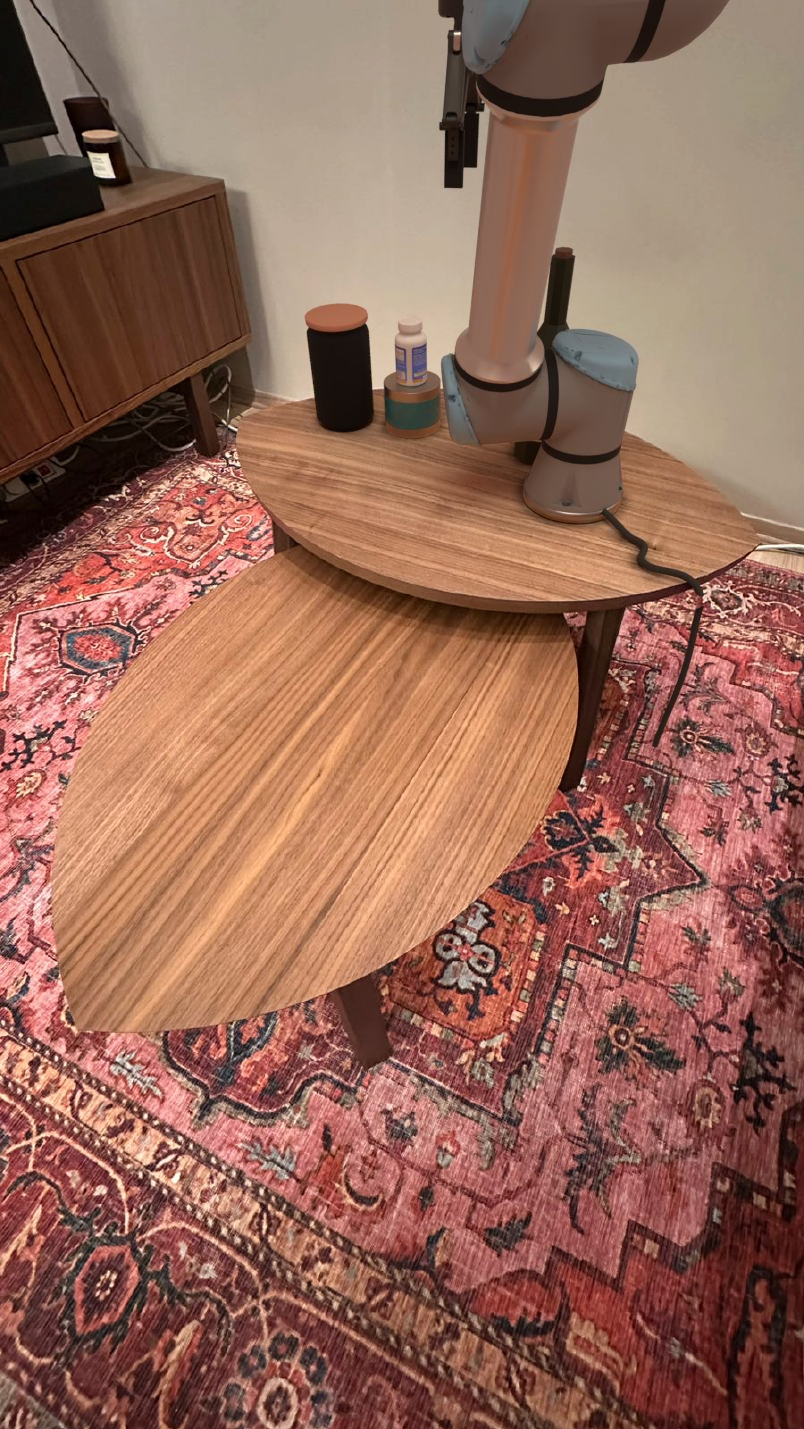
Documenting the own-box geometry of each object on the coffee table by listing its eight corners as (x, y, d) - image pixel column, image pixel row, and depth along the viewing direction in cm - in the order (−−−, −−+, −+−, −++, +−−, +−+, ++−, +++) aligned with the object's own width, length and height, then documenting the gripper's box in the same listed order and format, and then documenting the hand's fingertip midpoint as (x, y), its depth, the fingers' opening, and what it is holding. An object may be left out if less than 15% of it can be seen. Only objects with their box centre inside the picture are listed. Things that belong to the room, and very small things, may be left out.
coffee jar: (341, 402, 133) (331, 299, 119) (385, 416, 128) (380, 310, 115) (305, 424, 127) (290, 318, 114) (350, 439, 123) (340, 330, 109)
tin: (450, 430, 124) (451, 385, 118) (400, 443, 121) (398, 398, 115) (424, 408, 130) (424, 364, 124) (376, 420, 127) (373, 376, 121)
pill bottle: (428, 374, 121) (428, 314, 114) (425, 387, 118) (425, 326, 110) (397, 374, 122) (395, 313, 114) (394, 387, 118) (392, 326, 111)
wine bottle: (503, 456, 117) (522, 251, 95) (531, 438, 121) (555, 237, 99) (544, 471, 113) (574, 262, 91) (571, 452, 117) (606, 247, 95)
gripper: (455, -29, 98) (451, 159, 114) (419, -22, 82) (420, 196, 98) (507, -31, 96) (496, 160, 112) (481, -24, 80) (472, 197, 96)
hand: (461, 177), depth 105 cm, fingers open, 13 cm apart
